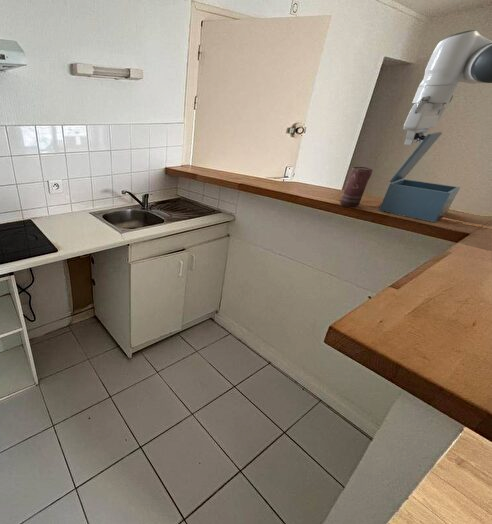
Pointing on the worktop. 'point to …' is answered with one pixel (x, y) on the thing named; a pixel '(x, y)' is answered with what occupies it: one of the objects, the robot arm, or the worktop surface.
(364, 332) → the worktop surface
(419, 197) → the blue hinged box
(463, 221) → the worktop surface
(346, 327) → the worktop surface
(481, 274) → the worktop surface
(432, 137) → the blue box lid
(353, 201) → the can
